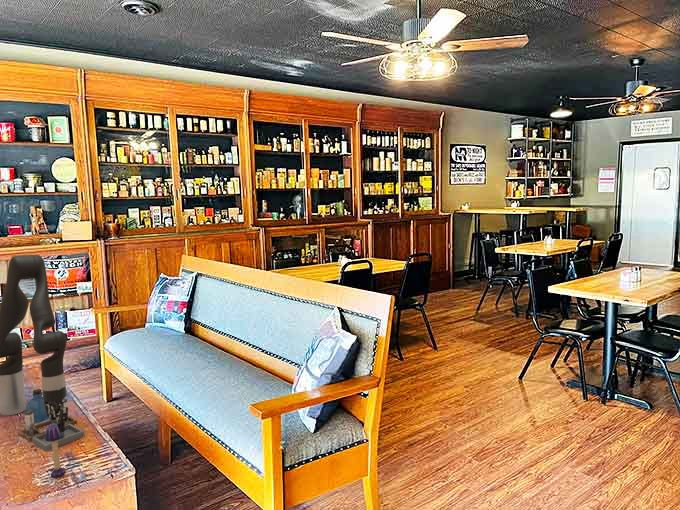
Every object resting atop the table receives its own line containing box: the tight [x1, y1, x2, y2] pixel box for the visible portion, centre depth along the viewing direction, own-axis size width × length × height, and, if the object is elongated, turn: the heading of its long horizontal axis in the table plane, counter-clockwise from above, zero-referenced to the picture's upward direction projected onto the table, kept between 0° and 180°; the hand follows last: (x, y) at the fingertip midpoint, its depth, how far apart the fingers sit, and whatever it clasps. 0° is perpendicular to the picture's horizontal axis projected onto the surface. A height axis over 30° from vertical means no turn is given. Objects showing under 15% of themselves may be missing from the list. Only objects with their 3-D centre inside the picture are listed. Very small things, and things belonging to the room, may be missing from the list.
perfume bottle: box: [25, 388, 49, 423], centre depth 206 cm, size 6×6×12 cm
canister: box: [63, 398, 70, 424], centre depth 202 cm, size 3×3×10 cm
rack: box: [17, 416, 78, 443], centre depth 197 cm, size 9×18×2 cm, turn 144°
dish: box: [32, 424, 85, 452], centre depth 189 cm, size 11×14×2 cm
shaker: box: [52, 418, 64, 440], centre depth 188 cm, size 4×4×7 cm
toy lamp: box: [45, 425, 67, 479], centre depth 164 cm, size 5×5×17 cm
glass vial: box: [23, 410, 36, 437], centre depth 192 cm, size 3×3×10 cm
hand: (58, 430), depth 188 cm, fingers open, 4 cm apart
